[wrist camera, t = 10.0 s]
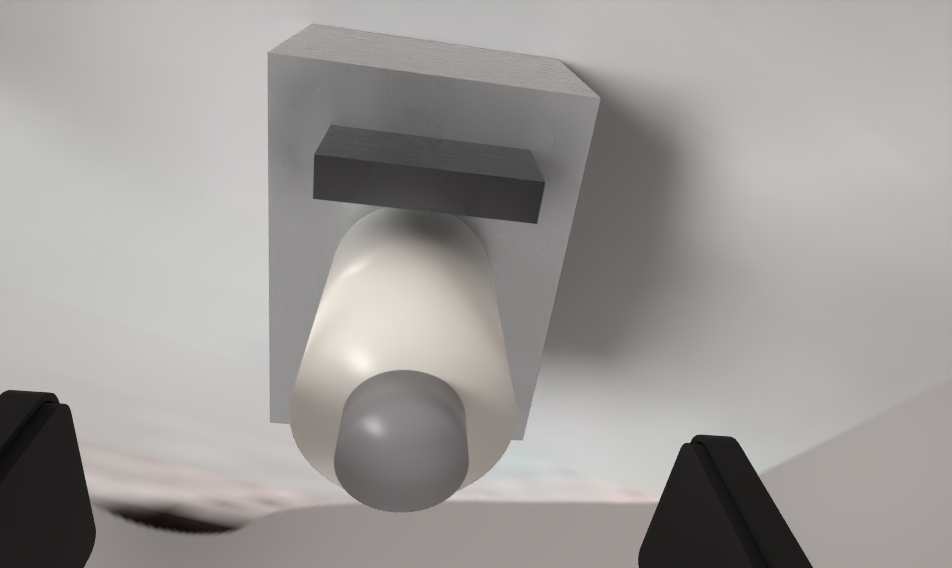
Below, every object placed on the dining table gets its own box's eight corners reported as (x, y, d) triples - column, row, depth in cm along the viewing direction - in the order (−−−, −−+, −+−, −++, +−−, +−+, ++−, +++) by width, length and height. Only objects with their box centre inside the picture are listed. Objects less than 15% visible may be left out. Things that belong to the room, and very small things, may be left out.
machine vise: (311, 24, 20) (238, 70, 13) (558, 59, 21) (628, 123, 14) (303, 371, 26) (251, 542, 19) (495, 387, 27) (518, 556, 20)
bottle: (334, 194, 16) (275, 351, 10) (502, 213, 17) (545, 373, 11) (328, 337, 19) (275, 543, 12) (479, 350, 19) (503, 554, 13)
